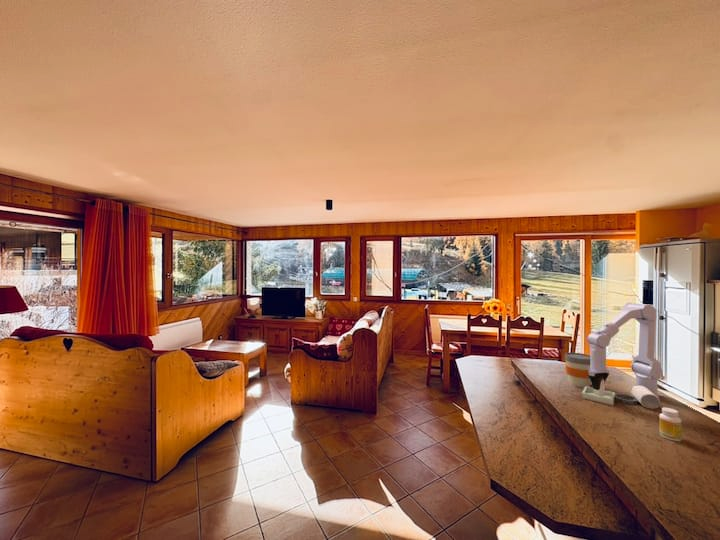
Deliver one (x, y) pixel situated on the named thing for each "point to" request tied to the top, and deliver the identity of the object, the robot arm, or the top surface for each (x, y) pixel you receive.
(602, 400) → the tray
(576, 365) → the reusable coffee cup
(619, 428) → the top surface
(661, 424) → the supplement bottle
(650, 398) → the can
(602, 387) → the peg
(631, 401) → the collar
